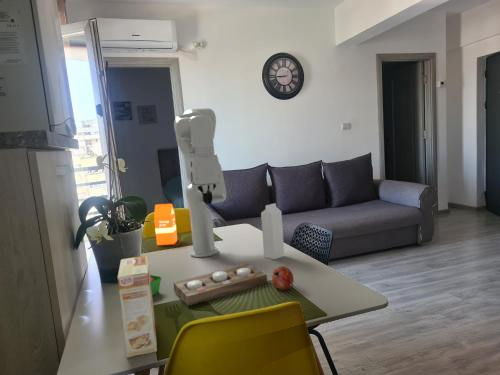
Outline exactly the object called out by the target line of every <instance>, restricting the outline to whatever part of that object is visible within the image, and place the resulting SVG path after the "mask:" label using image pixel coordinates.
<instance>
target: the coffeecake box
mask: <svg viewBox="0 0 500 375" xmlns="http://www.w3.org/2000/svg"><path fill="white" fill-rule="evenodd" d="M149 266H150V265H149V258H148V255H141V256H135V257H134V256H133V257H128V258H122V259H120V263H119V269H118V273H117V284H118V292H119V299H120V307H121V316H122V324H123V325H122V326H123V334H124V341H125V350H126V358H132V357H137V356H141V355H146V354H152V353H156V352H157V351H158V349H157V348H158V347H157V344H158V343H157V332H156V320H155V318H156V317H155V310H154V302H153V295H152V290H151V281H150V275H151V274H150V267H149Z"/></svg>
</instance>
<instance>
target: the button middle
mask: <svg viewBox="0 0 500 375" xmlns="http://www.w3.org/2000/svg"><path fill="white" fill-rule="evenodd" d="M214 272H215V273H213V282H214V283H218V282H222V281H226V280H227V273H226V272H223V271H221V272H216V271H214Z"/></svg>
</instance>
